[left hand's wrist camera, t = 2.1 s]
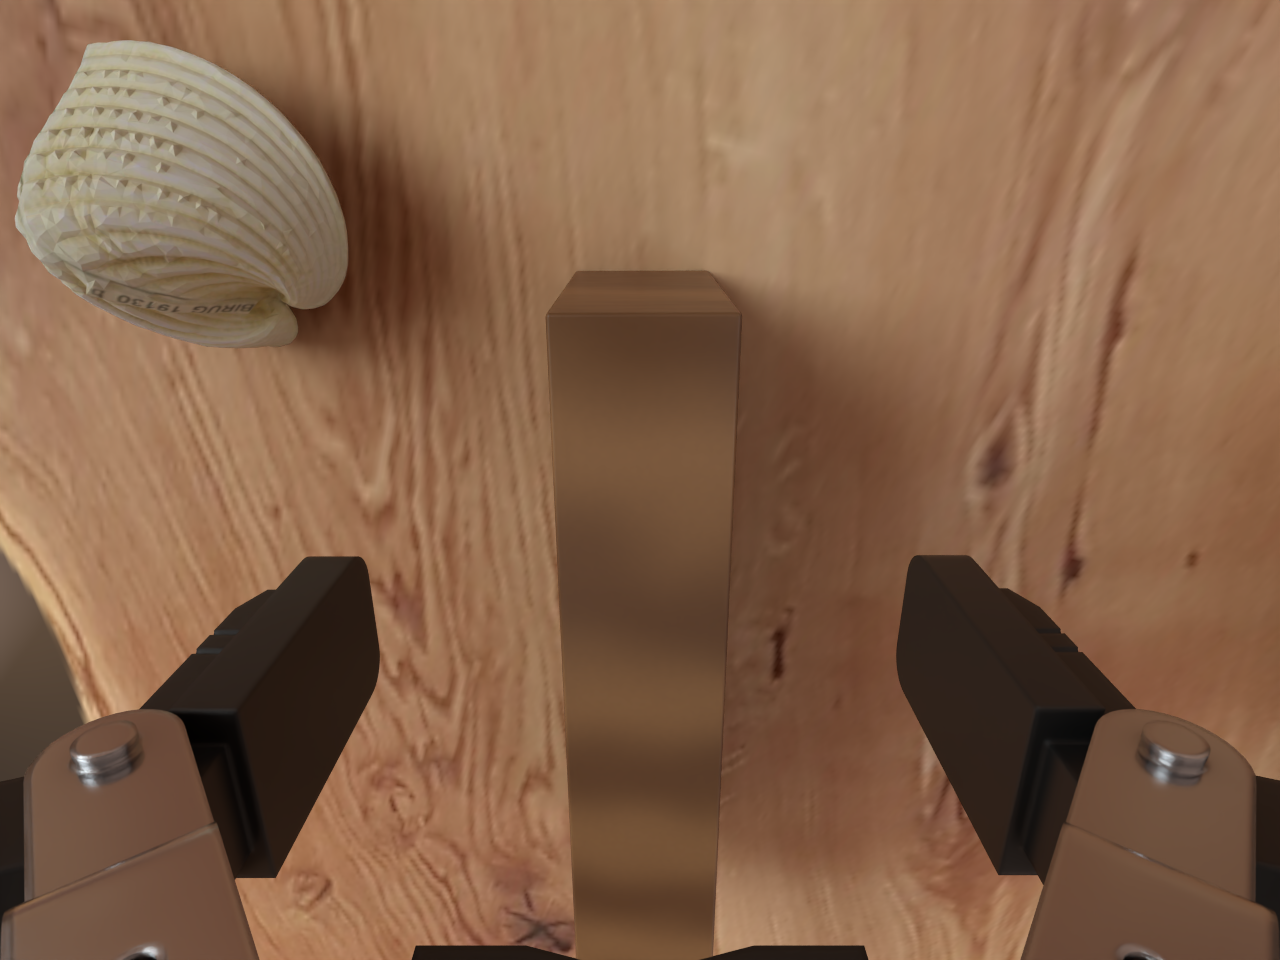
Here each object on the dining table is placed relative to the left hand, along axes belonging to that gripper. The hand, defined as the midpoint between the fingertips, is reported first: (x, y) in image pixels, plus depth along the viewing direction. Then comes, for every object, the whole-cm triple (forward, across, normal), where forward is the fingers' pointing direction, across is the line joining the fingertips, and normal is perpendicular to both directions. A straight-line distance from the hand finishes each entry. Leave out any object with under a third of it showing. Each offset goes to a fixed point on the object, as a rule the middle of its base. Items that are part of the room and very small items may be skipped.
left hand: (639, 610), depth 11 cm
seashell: (+17, -13, +5) cm, 22 cm away
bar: (+18, 0, -9) cm, 20 cm away
